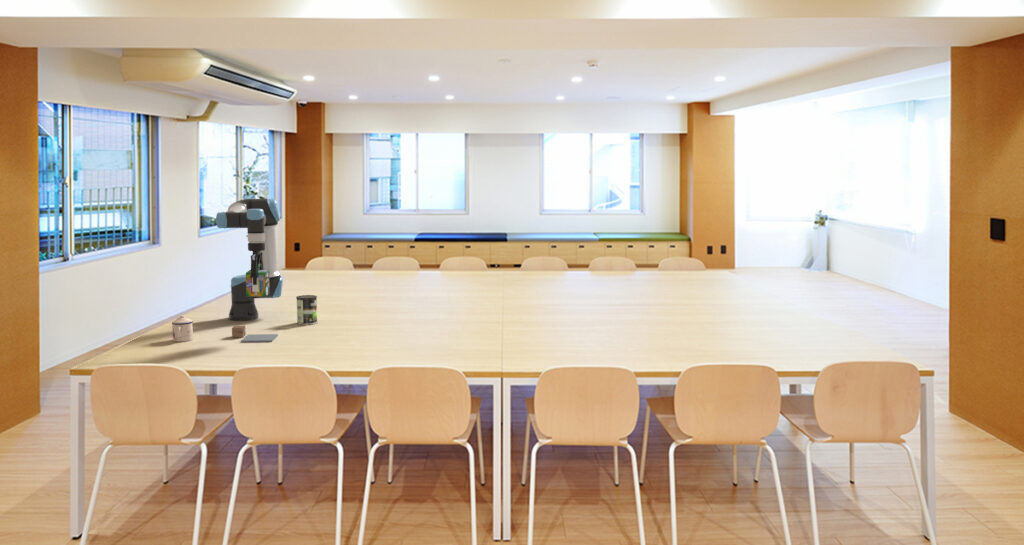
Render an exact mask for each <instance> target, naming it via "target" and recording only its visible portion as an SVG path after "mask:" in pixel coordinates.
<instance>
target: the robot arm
mask: <svg viewBox="0 0 1024 545" xmlns="http://www.w3.org/2000/svg"><path fill="white" fill-rule="evenodd" d="M215 218H216V219H215V221H216V227H217V228H218V229H246V230H247V232H246V233H247V234H246V238H247V242H248V243H247V250H248V251H249V252H252V254H251V255H250V270H251V276H250V278H252V292H259V282H258V268H259V267H258V265H259V264H260V269H259V270H269V289H270V294H268V295H267V296H266V297H246V273H245V274H241V275H236V276H232V278H231V280H230V291H231V295H230V296H231V306H230V310H229V313H228V320H230V321H250V320H251V319H252V320H256V319H258V318H259V312H258V309H257V307H256V302H255V299H275V298H276V299H277V298H280V297H281V296H282V292H283V282H284V276H282V275H281V273H280V271H279V270H278V266H277V264H278V261H277V244H276V243H277V242H276V227H277V226H278V224H279V222H280V221H281V210H280V206H279V203H278V201H277V199H275V198H245V199H240V200H237V201H235V202H233V203H231V204H229V207H228V208H227V210H226V211H222V212H220V211H219V212H217V213H216V216H215Z"/></svg>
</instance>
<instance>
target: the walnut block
mask: <svg viewBox="0 0 1024 545" xmlns="http://www.w3.org/2000/svg"><path fill="white" fill-rule="evenodd" d="M246 332H247V331H246V325H234V326H232V327H231V338H232V337H243V338H245V337H246V336H247V335H246ZM245 335H246V336H245ZM244 336H245V337H244Z"/></svg>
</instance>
